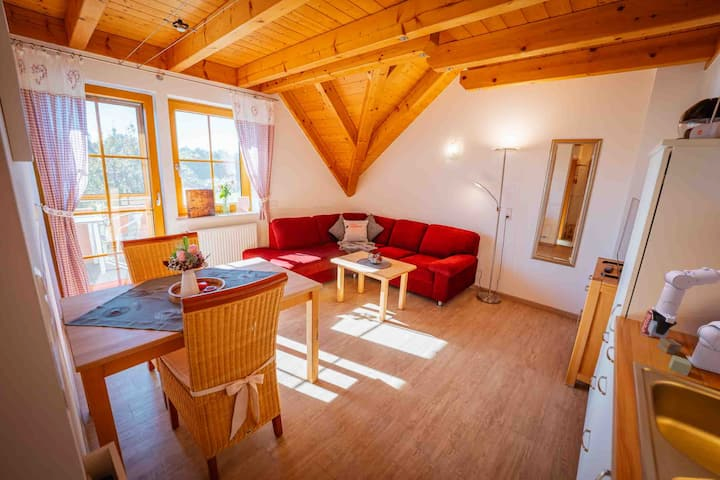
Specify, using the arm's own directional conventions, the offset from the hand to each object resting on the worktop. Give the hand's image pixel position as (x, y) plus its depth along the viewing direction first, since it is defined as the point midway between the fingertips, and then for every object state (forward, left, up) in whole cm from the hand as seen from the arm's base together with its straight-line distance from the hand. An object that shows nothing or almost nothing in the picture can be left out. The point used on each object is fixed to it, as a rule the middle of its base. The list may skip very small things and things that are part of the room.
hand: (657, 331), depth 117 cm
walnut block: (-8, -7, -10) cm, 15 cm away
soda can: (-5, -19, -11) cm, 22 cm away
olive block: (-6, +8, -10) cm, 14 cm away
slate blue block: (0, 0, -1) cm, 1 cm away
